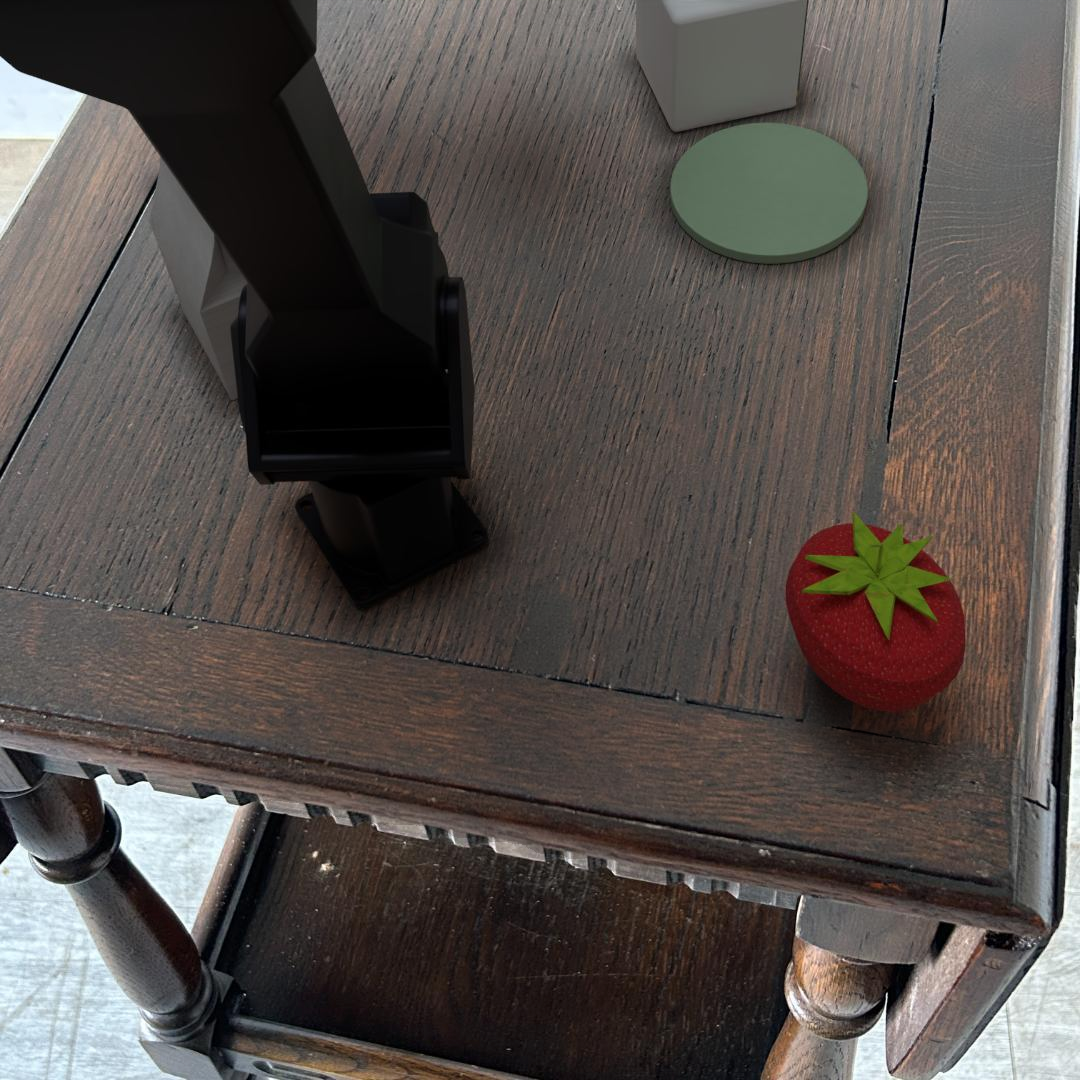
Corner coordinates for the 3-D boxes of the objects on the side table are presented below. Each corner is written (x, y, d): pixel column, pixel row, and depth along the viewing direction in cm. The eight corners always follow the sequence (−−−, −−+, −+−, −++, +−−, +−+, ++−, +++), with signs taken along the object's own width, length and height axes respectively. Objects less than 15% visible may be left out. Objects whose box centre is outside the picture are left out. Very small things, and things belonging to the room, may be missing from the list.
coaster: (907, 212, 71) (909, 203, 70) (745, 292, 68) (745, 283, 68) (787, 107, 76) (788, 98, 75) (632, 178, 73) (632, 169, 73)
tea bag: (231, 400, 66) (174, 243, 58) (183, 311, 70) (122, 151, 61) (303, 370, 67) (257, 210, 59) (252, 283, 70) (201, 121, 62)
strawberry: (846, 795, 53) (884, 663, 45) (741, 643, 57) (758, 498, 49) (975, 728, 54) (1035, 588, 46) (863, 584, 58) (900, 433, 50)
